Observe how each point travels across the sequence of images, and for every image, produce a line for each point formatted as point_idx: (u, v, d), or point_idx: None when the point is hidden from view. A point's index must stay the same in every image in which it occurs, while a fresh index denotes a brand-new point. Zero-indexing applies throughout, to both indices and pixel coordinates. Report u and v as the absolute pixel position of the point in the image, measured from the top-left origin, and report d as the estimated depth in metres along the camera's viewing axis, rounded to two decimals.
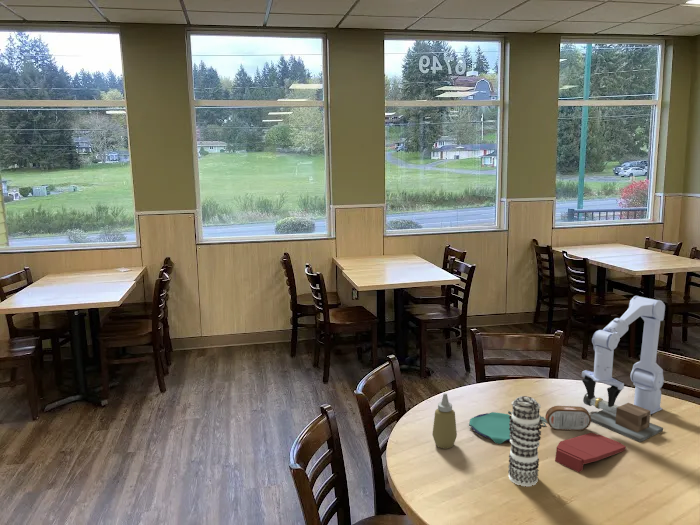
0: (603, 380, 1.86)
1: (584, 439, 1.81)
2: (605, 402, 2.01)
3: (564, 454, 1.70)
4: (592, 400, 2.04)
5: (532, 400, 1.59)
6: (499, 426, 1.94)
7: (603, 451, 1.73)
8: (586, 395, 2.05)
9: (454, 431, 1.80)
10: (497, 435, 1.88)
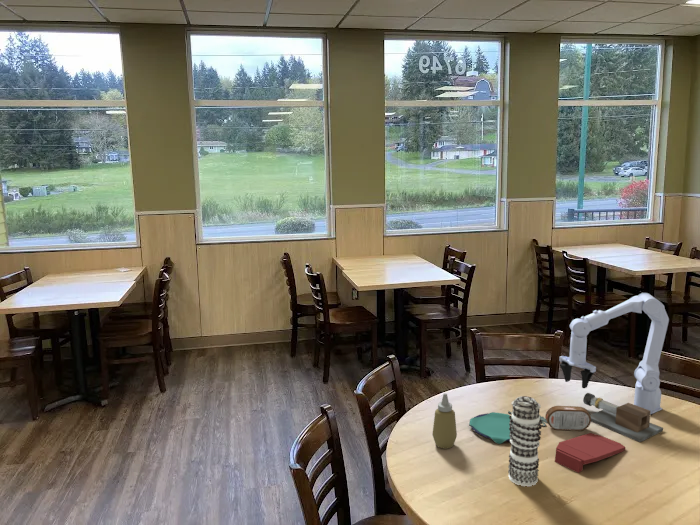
0: (577, 364, 2.06)
1: (583, 440, 1.81)
2: (605, 402, 2.01)
3: (564, 455, 1.70)
4: (592, 400, 2.04)
5: (532, 400, 1.59)
6: (499, 426, 1.94)
7: (602, 451, 1.72)
8: (586, 395, 2.05)
9: (454, 431, 1.80)
10: (497, 435, 1.88)
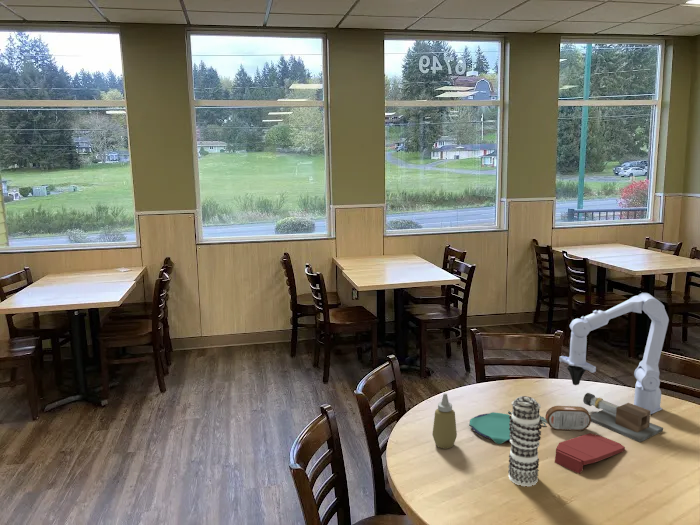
0: (577, 364, 2.06)
1: (583, 440, 1.80)
2: (605, 402, 2.01)
3: (564, 455, 1.70)
4: (592, 400, 2.04)
5: (532, 400, 1.59)
6: (499, 426, 1.94)
7: (602, 451, 1.72)
8: (586, 395, 2.05)
9: (454, 431, 1.80)
10: (497, 435, 1.88)
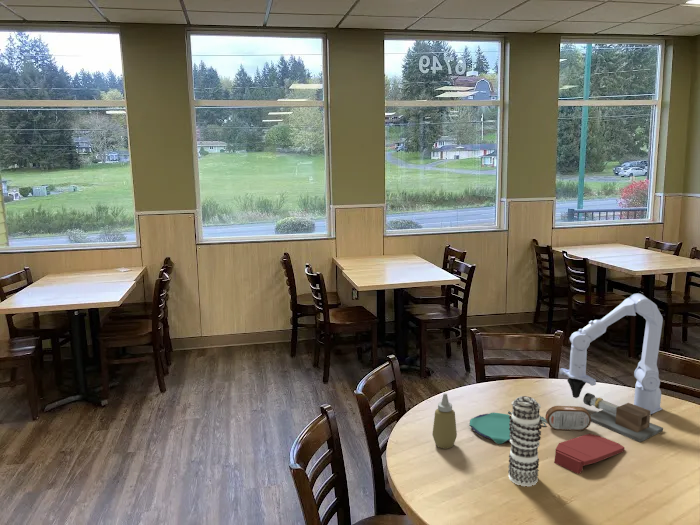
0: (577, 377, 2.07)
1: (583, 440, 1.80)
2: (605, 402, 2.01)
3: (563, 456, 1.69)
4: (592, 400, 2.04)
5: (532, 400, 1.59)
6: (499, 426, 1.94)
7: (602, 452, 1.72)
8: (586, 395, 2.05)
9: (454, 431, 1.80)
10: (497, 435, 1.87)
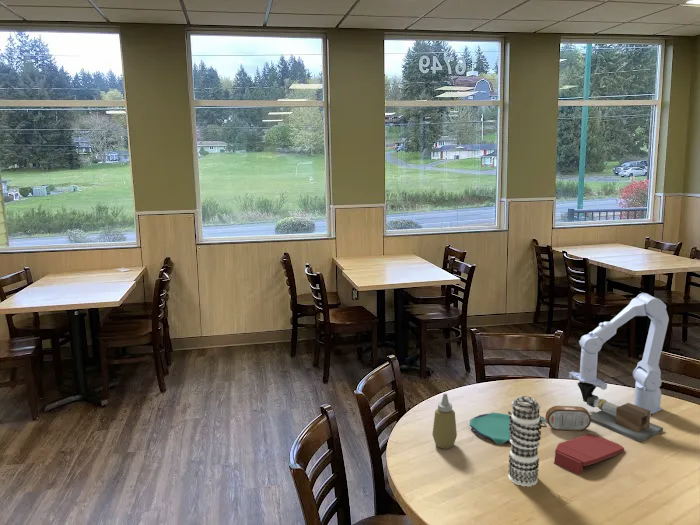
0: (588, 381, 2.03)
1: (582, 441, 1.80)
2: (609, 403, 1.99)
3: (563, 456, 1.69)
4: (595, 401, 2.02)
5: (532, 400, 1.59)
6: (499, 426, 1.94)
7: (601, 452, 1.72)
8: (589, 396, 2.04)
9: (454, 431, 1.80)
10: (498, 435, 1.87)
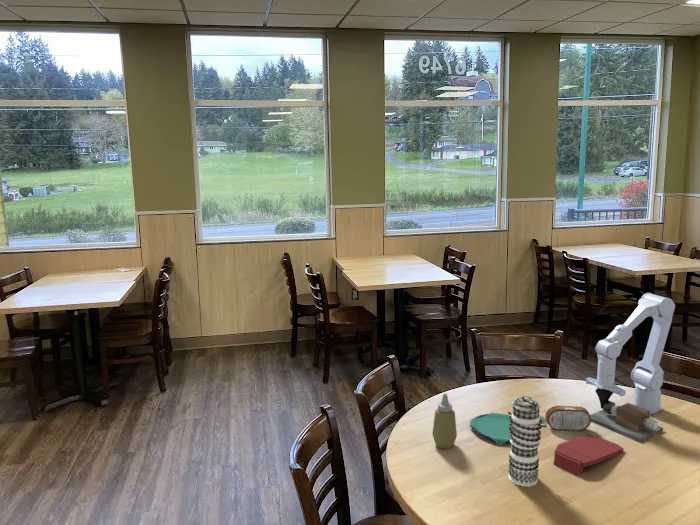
0: (606, 387, 1.97)
1: (582, 441, 1.79)
2: None
3: (563, 457, 1.68)
4: (612, 408, 1.97)
5: (532, 400, 1.59)
6: (500, 427, 1.93)
7: (601, 453, 1.71)
8: (606, 403, 1.99)
9: (454, 431, 1.80)
10: (498, 436, 1.87)
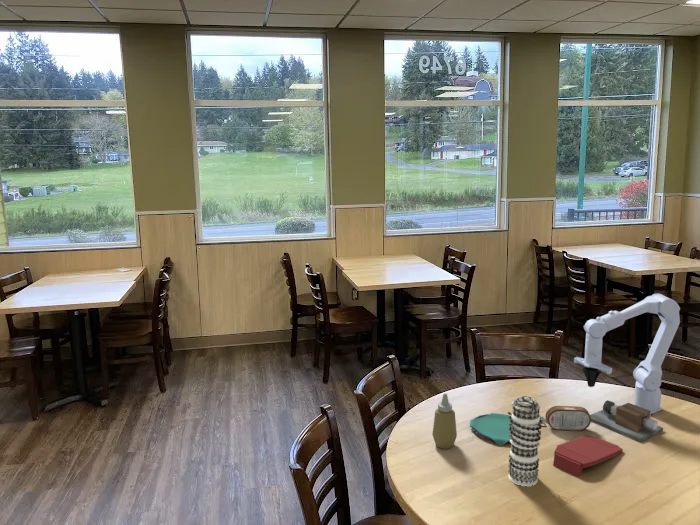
0: (593, 365, 2.03)
1: (581, 442, 1.79)
2: None
3: (562, 458, 1.68)
4: (612, 408, 1.97)
5: (532, 400, 1.59)
6: (500, 427, 1.93)
7: (600, 454, 1.71)
8: (606, 403, 1.99)
9: (454, 431, 1.80)
10: (498, 436, 1.87)
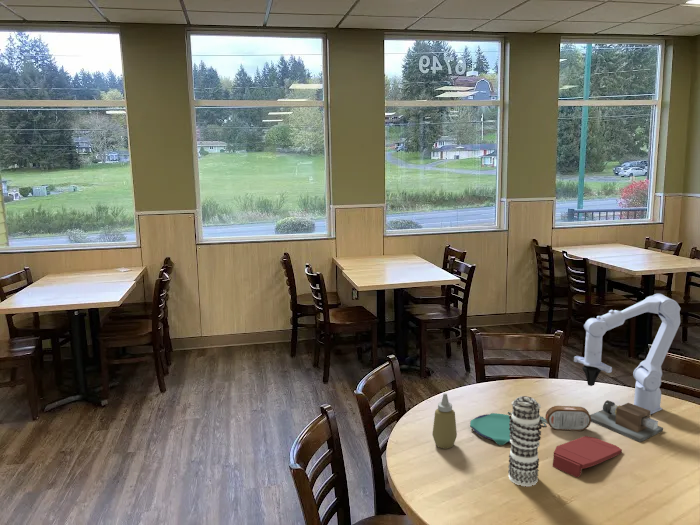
0: (593, 364, 2.03)
1: (580, 443, 1.79)
2: None
3: (562, 459, 1.67)
4: (612, 408, 1.97)
5: (532, 400, 1.59)
6: (500, 427, 1.93)
7: (600, 455, 1.70)
8: (606, 403, 1.99)
9: (454, 431, 1.80)
10: (499, 436, 1.87)
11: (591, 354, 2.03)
